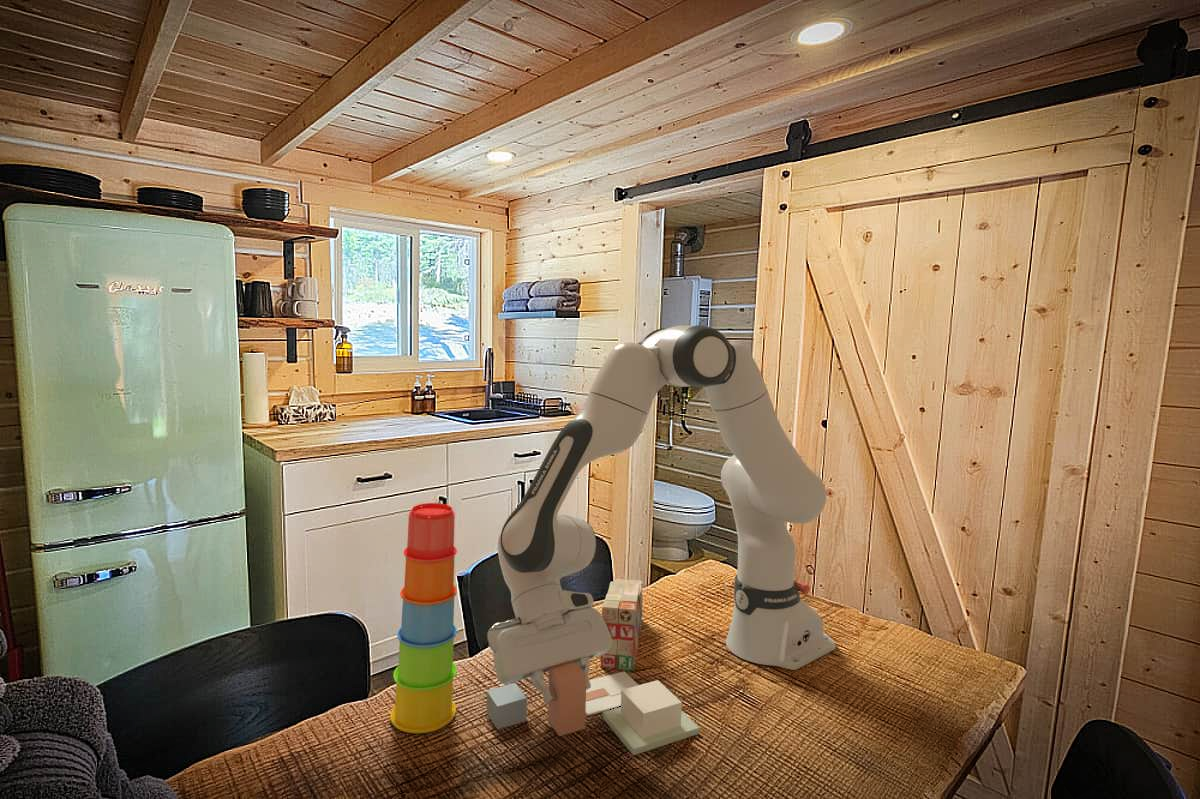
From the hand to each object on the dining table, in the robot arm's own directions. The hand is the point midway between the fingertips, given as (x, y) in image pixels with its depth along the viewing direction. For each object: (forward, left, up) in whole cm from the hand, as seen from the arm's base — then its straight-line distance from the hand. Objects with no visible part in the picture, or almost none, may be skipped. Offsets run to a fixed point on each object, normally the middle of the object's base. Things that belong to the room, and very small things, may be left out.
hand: (569, 695), depth 97 cm
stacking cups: (+20, -13, -5) cm, 24 cm away
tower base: (-12, +5, -5) cm, 14 cm away
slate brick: (+8, -7, -5) cm, 12 cm away
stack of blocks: (-21, -20, -6) cm, 30 cm away
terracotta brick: (0, -1, -5) cm, 5 cm away
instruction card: (-10, -6, -5) cm, 13 cm away
